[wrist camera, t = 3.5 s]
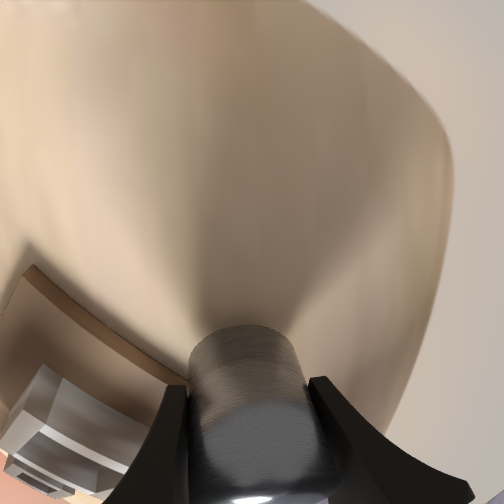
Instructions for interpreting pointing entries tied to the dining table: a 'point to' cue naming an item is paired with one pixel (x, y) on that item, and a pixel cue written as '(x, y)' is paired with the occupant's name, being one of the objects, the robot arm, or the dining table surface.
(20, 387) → the fitting board
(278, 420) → the gray metal cylinder
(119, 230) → the dining table surface
